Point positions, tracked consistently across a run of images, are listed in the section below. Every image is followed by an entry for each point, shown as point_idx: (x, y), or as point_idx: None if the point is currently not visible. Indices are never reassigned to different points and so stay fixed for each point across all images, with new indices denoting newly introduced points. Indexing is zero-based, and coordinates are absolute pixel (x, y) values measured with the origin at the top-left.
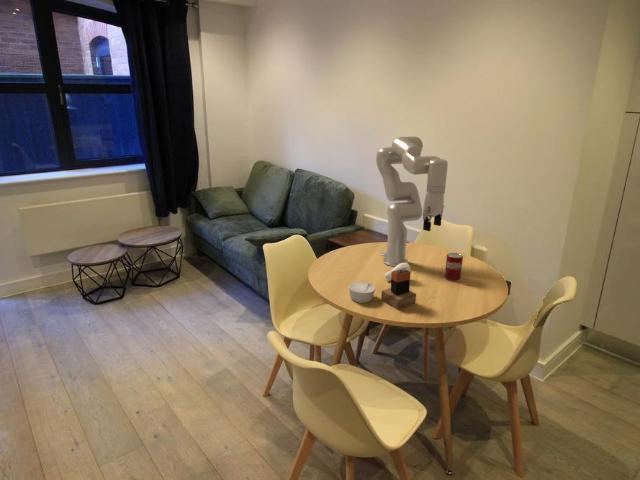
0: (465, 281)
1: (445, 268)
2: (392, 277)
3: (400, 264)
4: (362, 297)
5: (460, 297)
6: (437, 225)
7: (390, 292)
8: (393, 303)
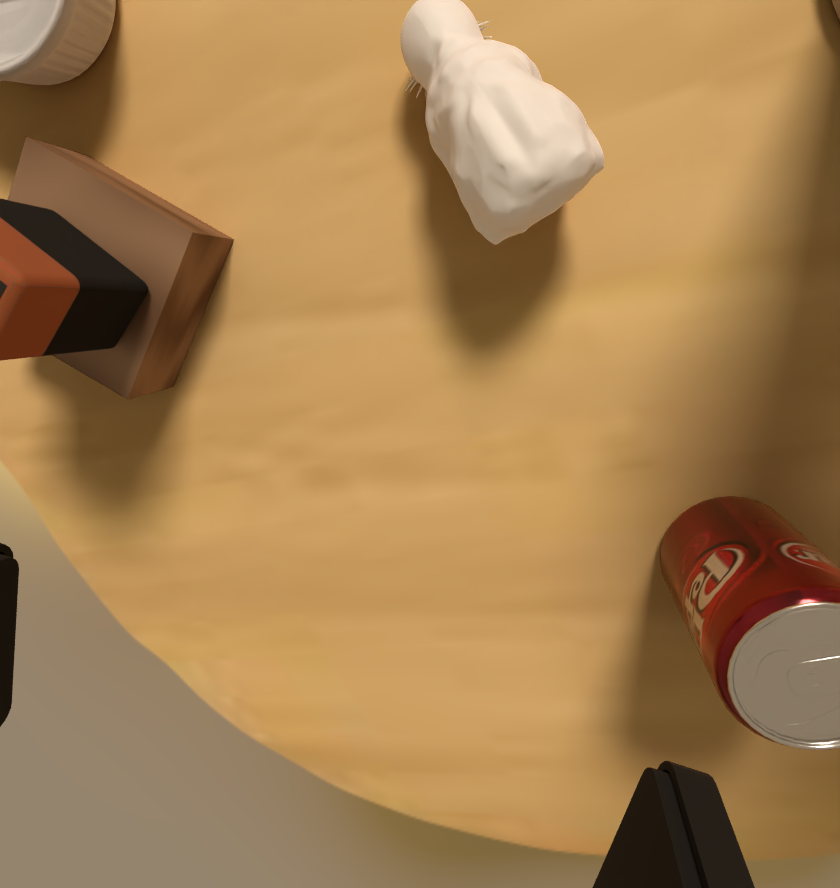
0: None
1: (738, 527)
2: None
3: (494, 106)
4: None
5: (406, 631)
6: (621, 857)
7: None
8: None
